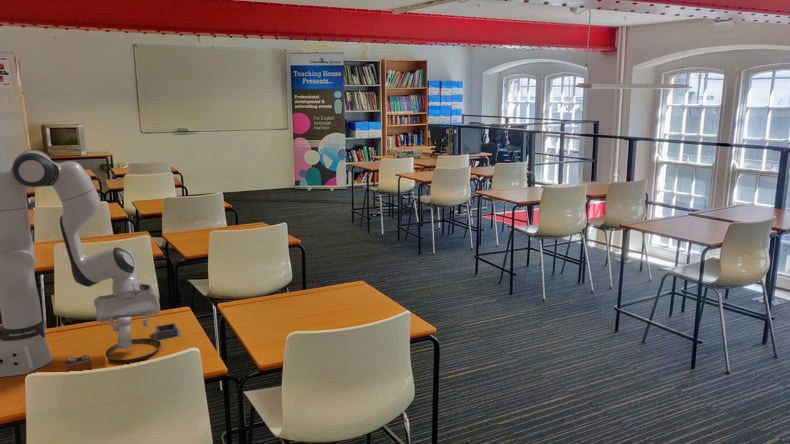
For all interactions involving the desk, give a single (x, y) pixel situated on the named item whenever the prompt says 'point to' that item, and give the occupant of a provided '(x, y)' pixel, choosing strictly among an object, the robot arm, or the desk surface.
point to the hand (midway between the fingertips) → (130, 328)
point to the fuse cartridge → (124, 332)
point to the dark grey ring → (138, 341)
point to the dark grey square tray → (166, 332)
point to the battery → (79, 364)
